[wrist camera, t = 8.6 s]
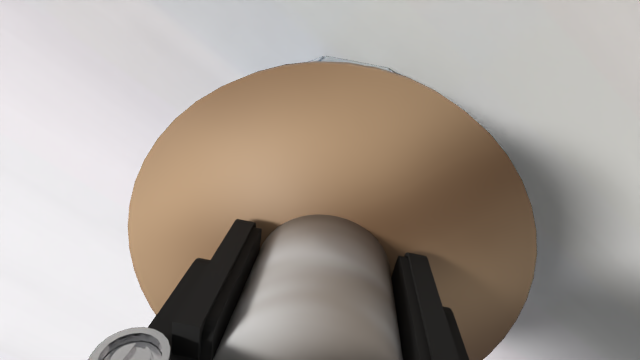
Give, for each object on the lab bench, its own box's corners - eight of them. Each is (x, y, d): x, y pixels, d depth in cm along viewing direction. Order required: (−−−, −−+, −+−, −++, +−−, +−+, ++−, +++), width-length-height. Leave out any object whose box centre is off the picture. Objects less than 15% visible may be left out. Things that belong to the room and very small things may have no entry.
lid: (609, 263, 11) (788, 428, 6) (332, 430, 15) (322, 600, 10) (310, -53, 8) (259, -146, 4) (79, 252, 12) (-75, 377, 8)
